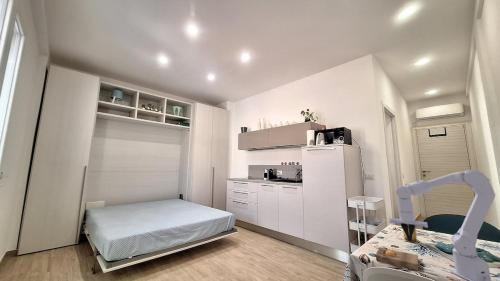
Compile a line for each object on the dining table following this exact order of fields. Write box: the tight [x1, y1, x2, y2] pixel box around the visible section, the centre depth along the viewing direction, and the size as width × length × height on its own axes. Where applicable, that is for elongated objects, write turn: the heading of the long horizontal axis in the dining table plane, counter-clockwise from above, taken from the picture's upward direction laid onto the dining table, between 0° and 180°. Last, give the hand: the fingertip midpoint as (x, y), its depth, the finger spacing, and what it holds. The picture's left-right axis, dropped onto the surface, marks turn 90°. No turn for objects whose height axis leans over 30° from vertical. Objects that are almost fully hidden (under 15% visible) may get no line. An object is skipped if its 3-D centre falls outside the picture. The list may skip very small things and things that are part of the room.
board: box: [375, 247, 419, 271], centre depth 99 cm, size 16×12×2 cm
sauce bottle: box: [402, 227, 417, 243], centre depth 125 cm, size 7×6×20 cm
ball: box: [386, 249, 395, 256], centre depth 100 cm, size 4×4×4 cm
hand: (410, 240), depth 96 cm, fingers closed
